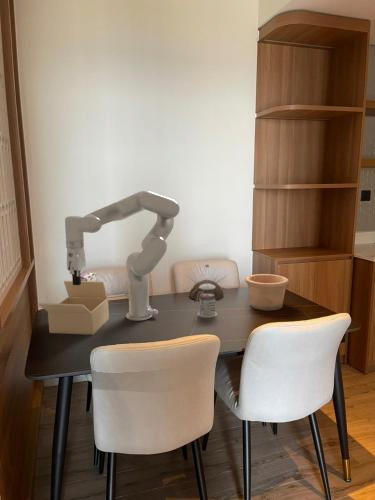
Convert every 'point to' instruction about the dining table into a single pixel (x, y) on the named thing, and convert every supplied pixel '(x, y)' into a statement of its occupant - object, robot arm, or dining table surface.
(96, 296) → the back flap
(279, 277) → the pottery
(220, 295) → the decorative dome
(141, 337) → the dining table surface
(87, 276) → the candy bar box
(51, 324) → the carton
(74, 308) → the front flap
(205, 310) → the french press
